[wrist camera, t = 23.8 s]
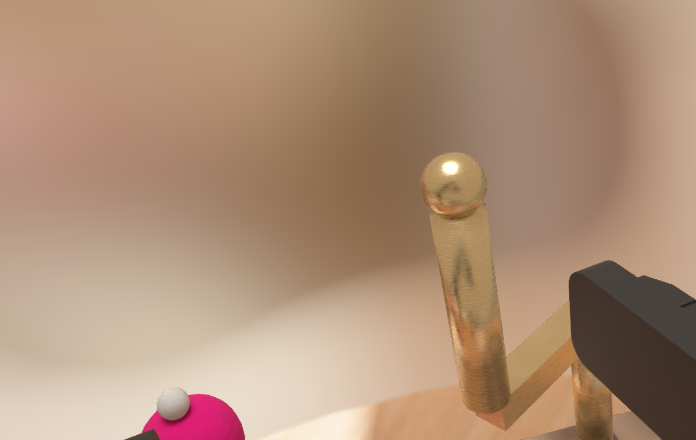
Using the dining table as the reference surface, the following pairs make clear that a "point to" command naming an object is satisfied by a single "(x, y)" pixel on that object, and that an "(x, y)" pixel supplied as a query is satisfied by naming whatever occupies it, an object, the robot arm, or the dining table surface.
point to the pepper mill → (194, 418)
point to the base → (627, 430)
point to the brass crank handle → (498, 313)
